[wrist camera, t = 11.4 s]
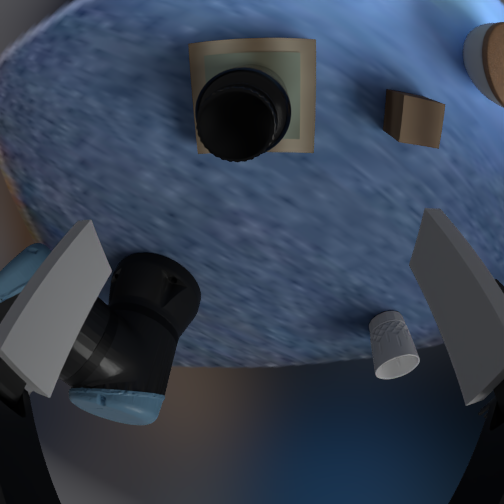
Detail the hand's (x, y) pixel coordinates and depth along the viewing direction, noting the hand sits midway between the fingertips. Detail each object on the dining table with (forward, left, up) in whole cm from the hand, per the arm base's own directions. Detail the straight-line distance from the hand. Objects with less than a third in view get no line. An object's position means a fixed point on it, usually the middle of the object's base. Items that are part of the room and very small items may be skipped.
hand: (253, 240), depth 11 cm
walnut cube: (+16, +2, -23) cm, 28 cm away
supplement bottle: (-1, +3, -20) cm, 20 cm away
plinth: (-1, +3, -23) cm, 23 cm away
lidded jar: (+27, +12, -24) cm, 37 cm away
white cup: (+22, -34, -24) cm, 47 cm away
